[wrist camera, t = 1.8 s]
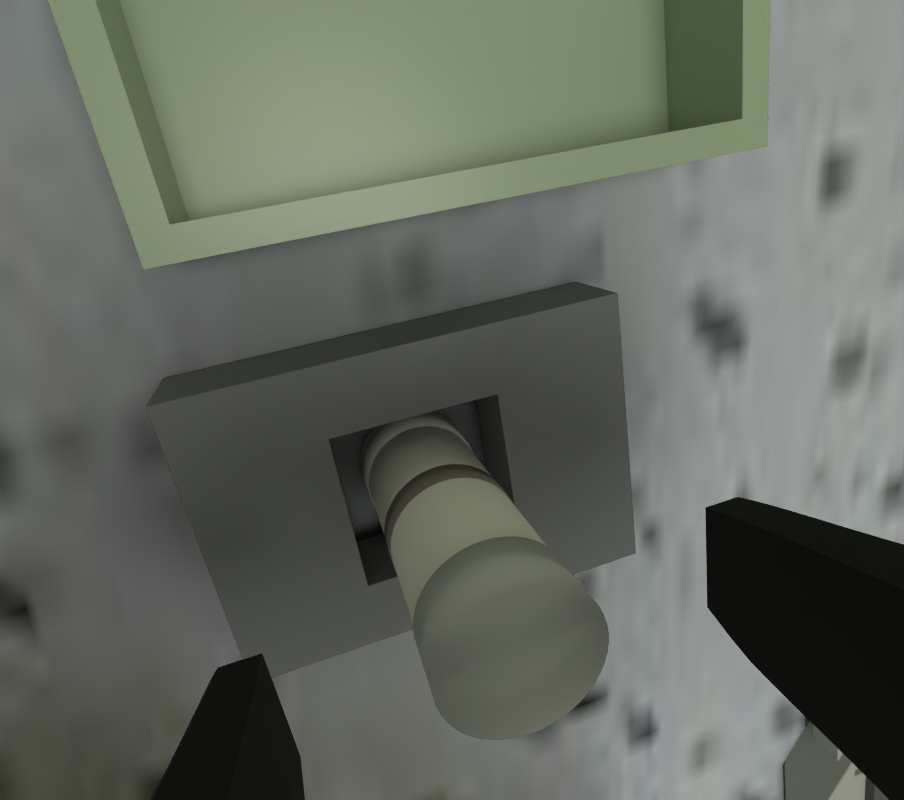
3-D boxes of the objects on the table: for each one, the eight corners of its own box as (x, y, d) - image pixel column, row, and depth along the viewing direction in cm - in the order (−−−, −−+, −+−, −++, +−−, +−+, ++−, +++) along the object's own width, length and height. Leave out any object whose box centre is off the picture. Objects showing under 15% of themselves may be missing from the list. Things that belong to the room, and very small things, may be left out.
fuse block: (255, 627, 16) (252, 683, 14) (163, 378, 13) (145, 406, 11) (598, 516, 18) (635, 553, 16) (575, 281, 15) (617, 293, 13)
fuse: (373, 516, 16) (449, 764, 9) (349, 423, 15) (414, 620, 8) (470, 487, 16) (615, 700, 9) (453, 395, 15) (601, 557, 8)
